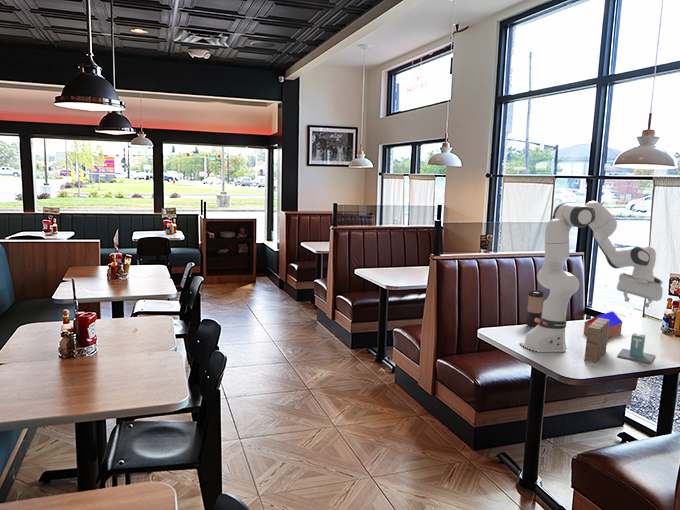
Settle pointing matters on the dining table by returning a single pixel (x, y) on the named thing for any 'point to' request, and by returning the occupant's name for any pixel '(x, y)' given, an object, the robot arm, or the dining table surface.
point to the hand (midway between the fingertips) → (636, 304)
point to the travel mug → (534, 307)
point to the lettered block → (637, 345)
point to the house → (614, 323)
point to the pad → (645, 358)
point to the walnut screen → (596, 340)
